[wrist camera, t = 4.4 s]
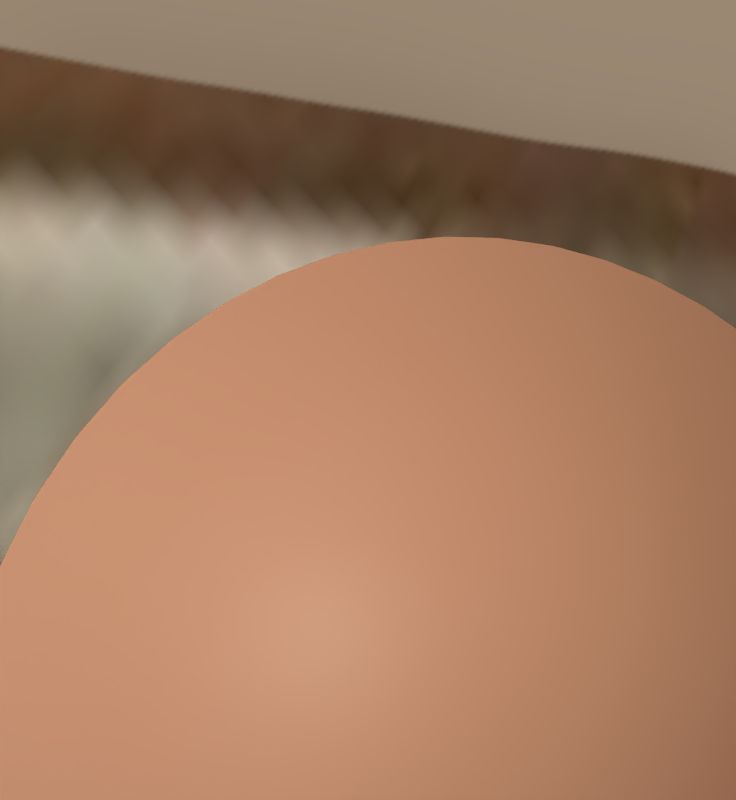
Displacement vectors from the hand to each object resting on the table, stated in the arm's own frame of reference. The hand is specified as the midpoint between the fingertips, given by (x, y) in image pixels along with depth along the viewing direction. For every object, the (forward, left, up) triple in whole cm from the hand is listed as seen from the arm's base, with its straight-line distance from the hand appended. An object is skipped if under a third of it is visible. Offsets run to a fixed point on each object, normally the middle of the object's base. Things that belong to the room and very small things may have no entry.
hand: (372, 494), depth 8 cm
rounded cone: (-1, +1, -7) cm, 7 cm away
